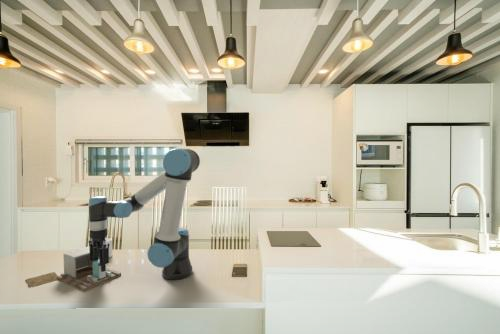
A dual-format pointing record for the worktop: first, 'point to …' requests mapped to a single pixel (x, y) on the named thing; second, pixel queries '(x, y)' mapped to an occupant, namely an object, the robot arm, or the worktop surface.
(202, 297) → the worktop surface
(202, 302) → the worktop surface
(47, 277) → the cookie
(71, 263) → the housing
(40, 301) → the worktop surface
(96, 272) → the teal block
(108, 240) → the cup
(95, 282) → the board
